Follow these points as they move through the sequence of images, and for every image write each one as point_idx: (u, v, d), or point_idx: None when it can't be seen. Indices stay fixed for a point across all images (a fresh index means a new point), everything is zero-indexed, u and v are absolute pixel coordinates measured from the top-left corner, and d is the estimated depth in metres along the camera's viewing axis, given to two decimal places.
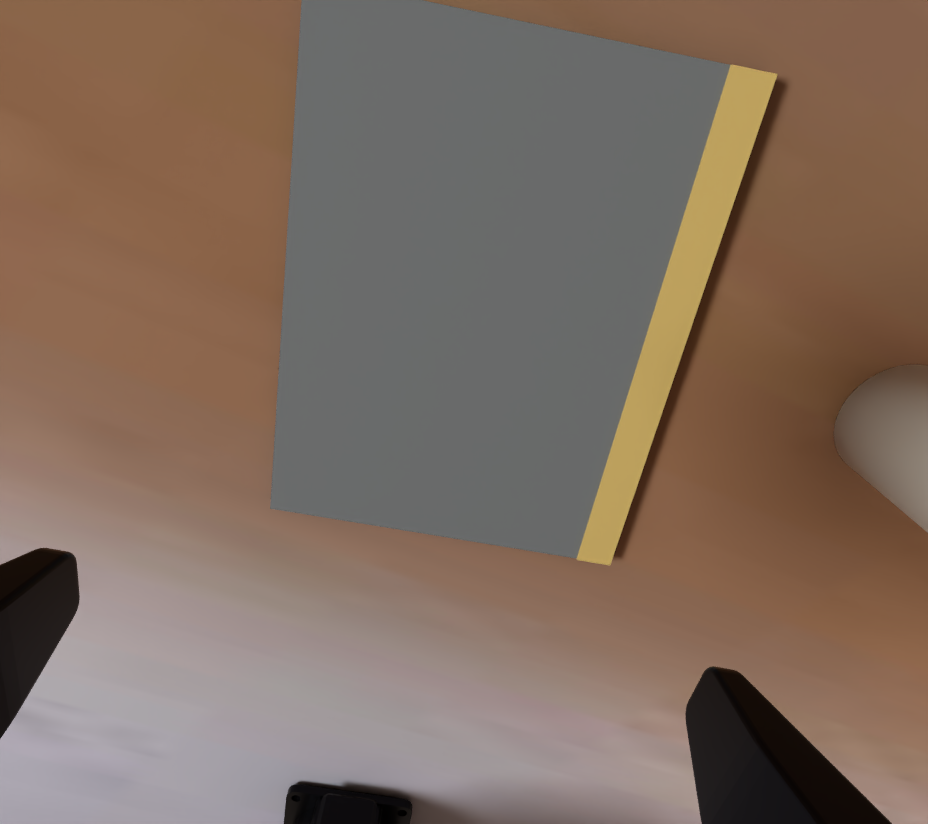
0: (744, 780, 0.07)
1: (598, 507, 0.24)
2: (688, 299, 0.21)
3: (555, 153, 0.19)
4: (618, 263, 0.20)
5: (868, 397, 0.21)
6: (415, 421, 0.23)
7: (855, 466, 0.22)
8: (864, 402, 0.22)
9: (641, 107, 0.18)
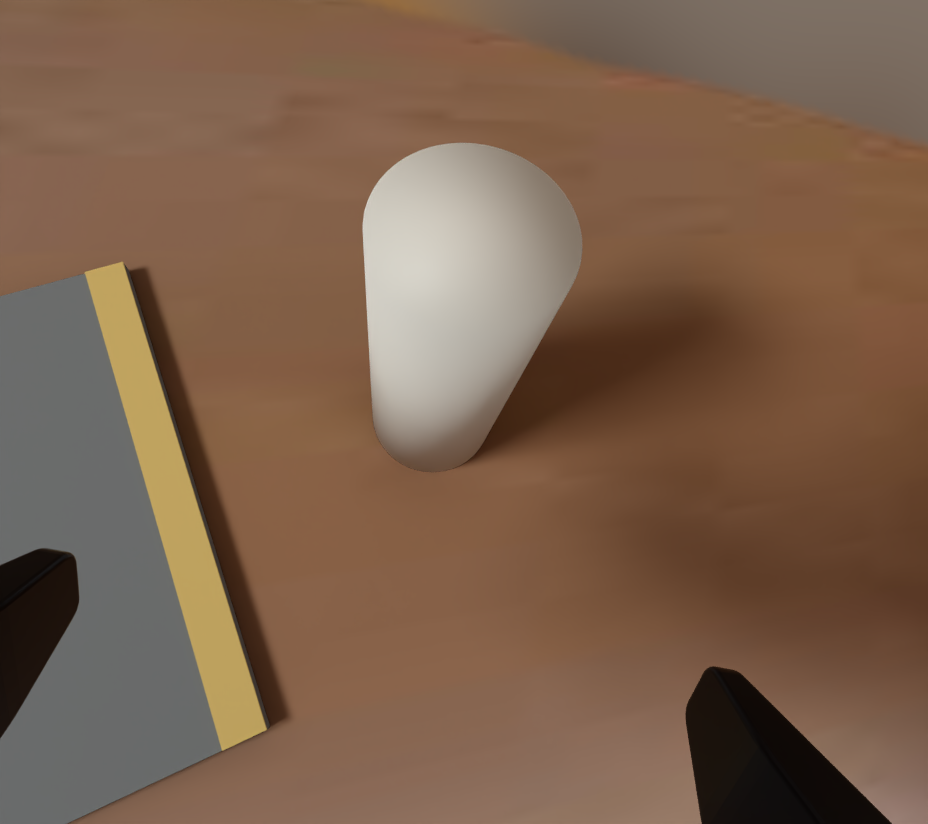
0: (744, 780, 0.07)
1: (204, 665, 0.19)
2: (160, 422, 0.22)
3: None
4: (78, 430, 0.21)
5: None
6: None
7: (408, 458, 0.22)
8: None
9: (31, 324, 0.22)
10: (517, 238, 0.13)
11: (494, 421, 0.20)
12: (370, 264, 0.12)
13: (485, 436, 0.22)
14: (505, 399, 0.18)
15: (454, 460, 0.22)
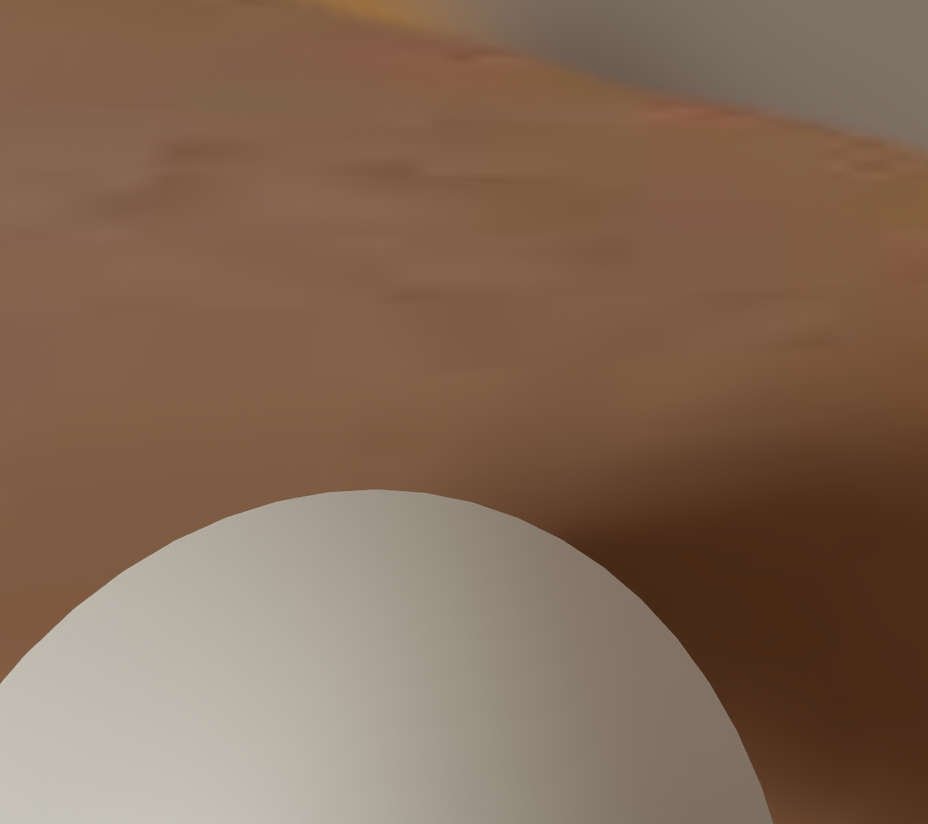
0: None
1: None
2: None
3: None
4: None
5: None
6: None
7: None
8: None
9: None
10: None
11: None
12: None
13: None
14: None
15: None
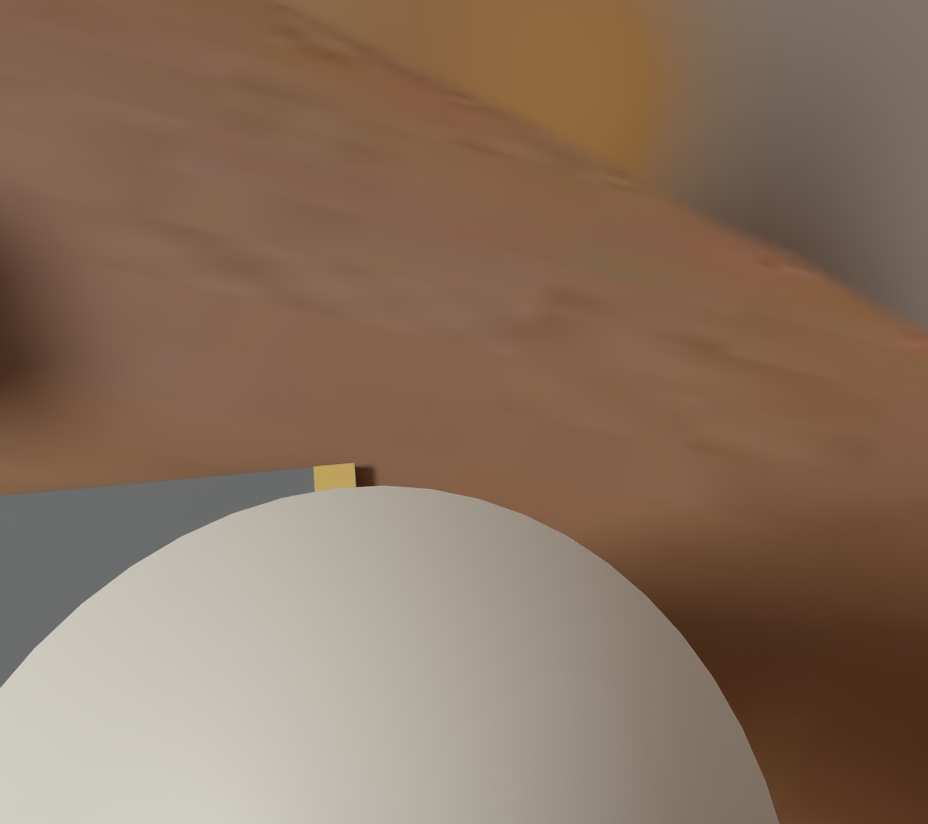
0: None
1: None
2: None
3: None
4: None
5: None
6: None
7: None
8: None
9: None
10: None
11: None
12: None
13: None
14: None
15: None
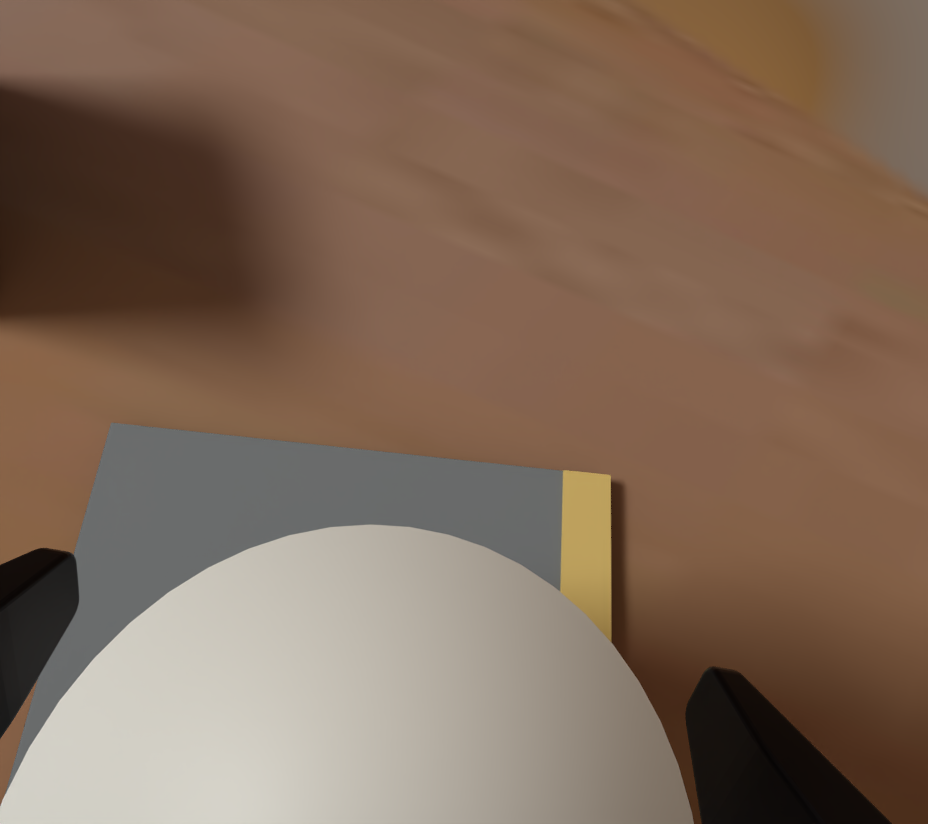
0: (744, 780, 0.07)
1: None
2: None
3: None
4: None
5: None
6: None
7: None
8: None
9: (483, 516, 0.17)
10: None
11: None
12: None
13: None
14: None
15: None
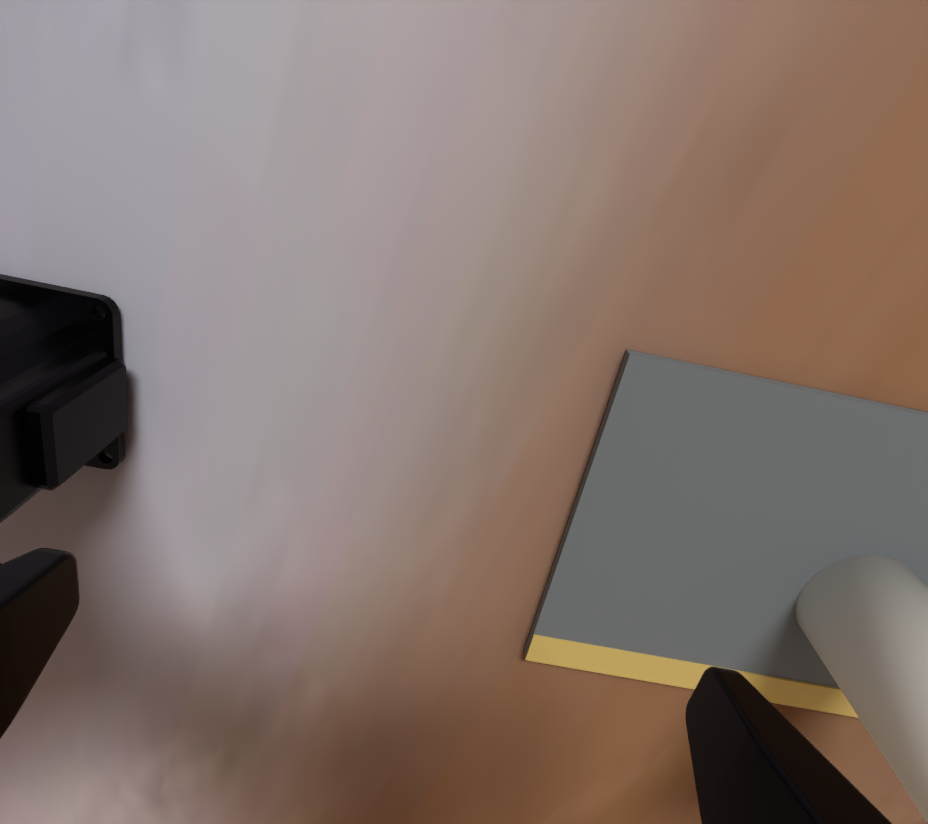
0: (744, 780, 0.07)
1: (592, 650, 0.25)
2: (776, 695, 0.26)
3: None
4: None
5: (893, 569, 0.22)
6: (712, 510, 0.22)
7: (828, 599, 0.22)
8: (888, 569, 0.22)
9: None
10: None
11: None
12: None
13: None
14: None
15: (812, 636, 0.23)
